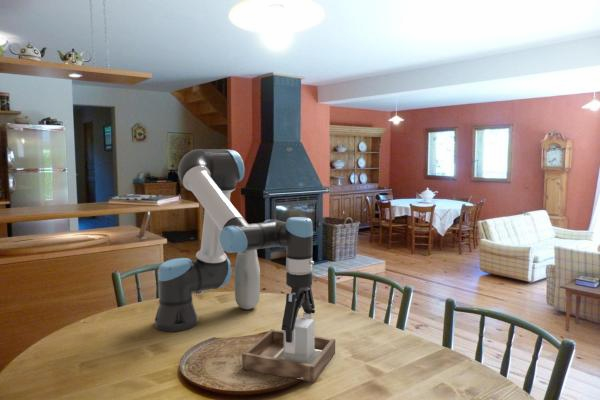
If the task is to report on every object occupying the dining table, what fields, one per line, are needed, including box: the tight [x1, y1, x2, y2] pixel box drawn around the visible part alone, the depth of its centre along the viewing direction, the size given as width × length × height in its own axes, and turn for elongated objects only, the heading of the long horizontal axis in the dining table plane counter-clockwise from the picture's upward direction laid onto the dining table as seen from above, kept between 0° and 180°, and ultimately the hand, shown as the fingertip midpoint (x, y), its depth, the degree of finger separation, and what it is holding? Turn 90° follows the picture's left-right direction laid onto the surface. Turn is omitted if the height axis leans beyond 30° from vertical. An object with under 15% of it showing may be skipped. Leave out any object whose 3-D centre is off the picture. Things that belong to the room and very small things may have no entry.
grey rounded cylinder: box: [233, 249, 261, 310], centre depth 182 cm, size 10×10×28 cm
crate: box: [241, 329, 336, 384], centre depth 137 cm, size 22×20×4 cm
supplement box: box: [283, 317, 315, 364], centre depth 133 cm, size 7×7×13 cm
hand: (299, 343), depth 132 cm, fingers open, 13 cm apart
